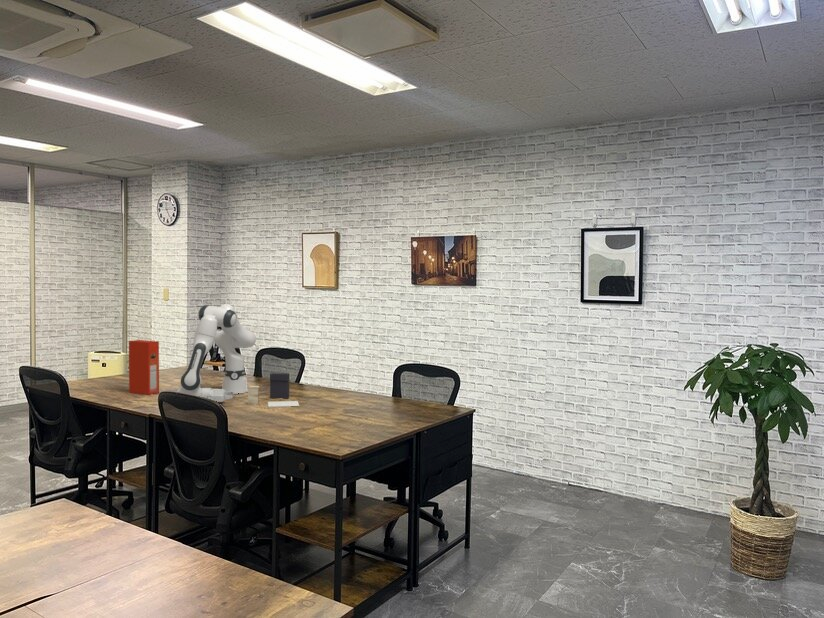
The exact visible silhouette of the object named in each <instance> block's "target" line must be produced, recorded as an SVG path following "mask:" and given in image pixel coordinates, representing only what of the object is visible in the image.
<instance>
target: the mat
mask: <svg viewBox="0 0 824 618" xmlns="http://www.w3.org/2000/svg"><path fill="white" fill-rule="evenodd" d="M291 406H299V407H300V403H299V401H298V400H285V401H283V400H281V401H280V400H279V401H267V407H268V408H291Z"/></svg>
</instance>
